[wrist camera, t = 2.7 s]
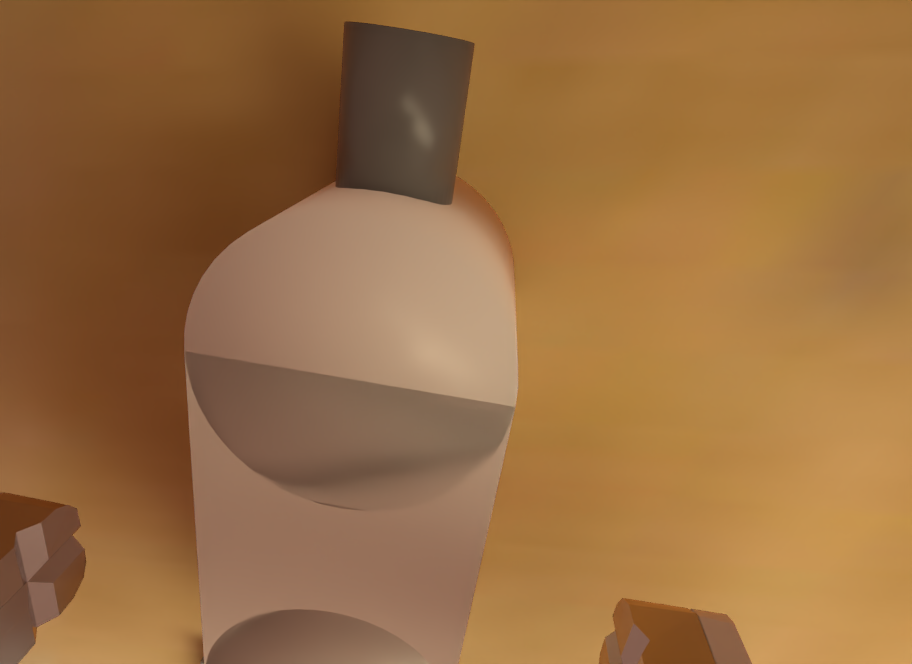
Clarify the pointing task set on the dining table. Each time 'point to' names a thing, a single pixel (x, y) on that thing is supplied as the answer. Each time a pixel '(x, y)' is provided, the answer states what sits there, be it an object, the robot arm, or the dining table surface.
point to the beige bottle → (356, 386)
